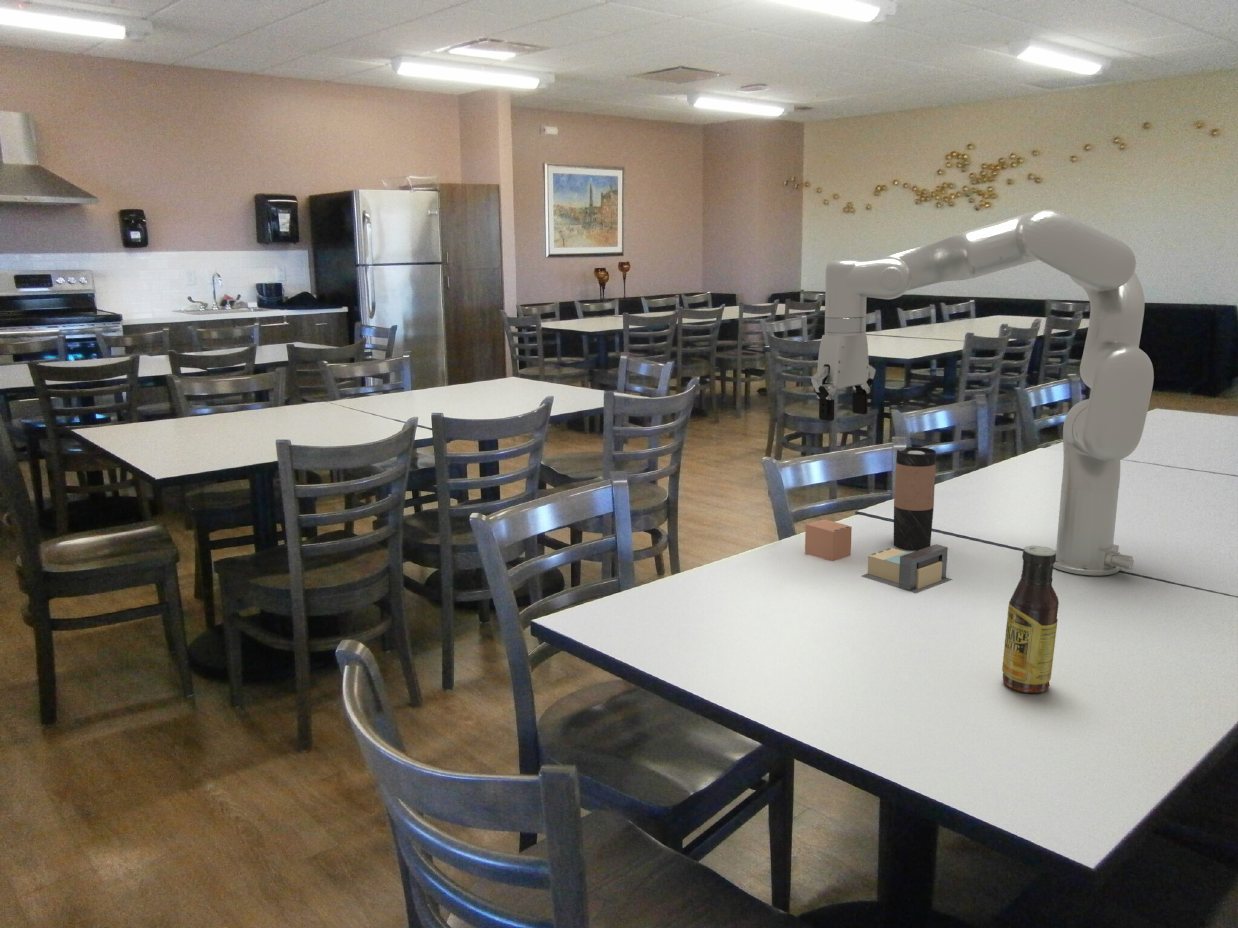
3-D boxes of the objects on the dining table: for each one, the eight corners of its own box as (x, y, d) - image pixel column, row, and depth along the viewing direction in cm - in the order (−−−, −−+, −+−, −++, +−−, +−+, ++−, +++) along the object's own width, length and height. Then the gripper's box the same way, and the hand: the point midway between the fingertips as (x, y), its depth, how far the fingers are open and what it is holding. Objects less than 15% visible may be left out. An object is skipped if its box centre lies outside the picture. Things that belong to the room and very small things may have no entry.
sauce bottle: (993, 676, 133) (1002, 542, 129) (1035, 674, 133) (1046, 540, 129) (1016, 698, 127) (1027, 557, 122) (1060, 695, 127) (1073, 555, 123)
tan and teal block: (941, 580, 171) (942, 561, 170) (918, 588, 167) (918, 569, 166) (890, 565, 180) (891, 547, 179) (867, 573, 175) (868, 555, 175)
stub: (850, 555, 186) (851, 525, 185) (832, 561, 183) (833, 531, 182) (823, 547, 192) (823, 518, 190) (804, 553, 188) (805, 523, 187)
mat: (952, 580, 172) (952, 579, 171) (915, 594, 165) (915, 593, 165) (897, 564, 181) (897, 563, 181) (860, 577, 174) (860, 575, 174)
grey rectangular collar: (946, 577, 172) (947, 547, 171) (910, 590, 166) (911, 559, 165) (934, 574, 174) (936, 544, 173) (898, 587, 168) (900, 556, 167)
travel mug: (933, 553, 187) (938, 454, 183) (893, 551, 189) (897, 454, 184) (929, 541, 194) (934, 447, 190) (890, 540, 196) (894, 446, 192)
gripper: (858, 323, 185) (856, 409, 189) (798, 329, 175) (797, 420, 178) (890, 324, 179) (887, 413, 183) (830, 331, 169) (828, 425, 173)
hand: (843, 416), depth 181 cm, fingers open, 9 cm apart
